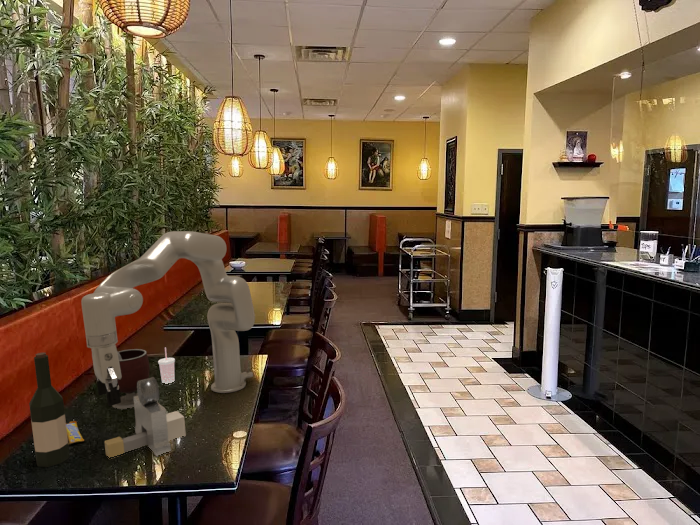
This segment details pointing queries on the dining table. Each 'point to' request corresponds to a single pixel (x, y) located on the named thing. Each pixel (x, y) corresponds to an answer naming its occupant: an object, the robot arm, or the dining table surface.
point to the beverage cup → (167, 369)
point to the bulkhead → (151, 416)
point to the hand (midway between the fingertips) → (109, 398)
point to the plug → (145, 436)
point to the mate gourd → (131, 374)
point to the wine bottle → (48, 418)
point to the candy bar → (73, 433)
